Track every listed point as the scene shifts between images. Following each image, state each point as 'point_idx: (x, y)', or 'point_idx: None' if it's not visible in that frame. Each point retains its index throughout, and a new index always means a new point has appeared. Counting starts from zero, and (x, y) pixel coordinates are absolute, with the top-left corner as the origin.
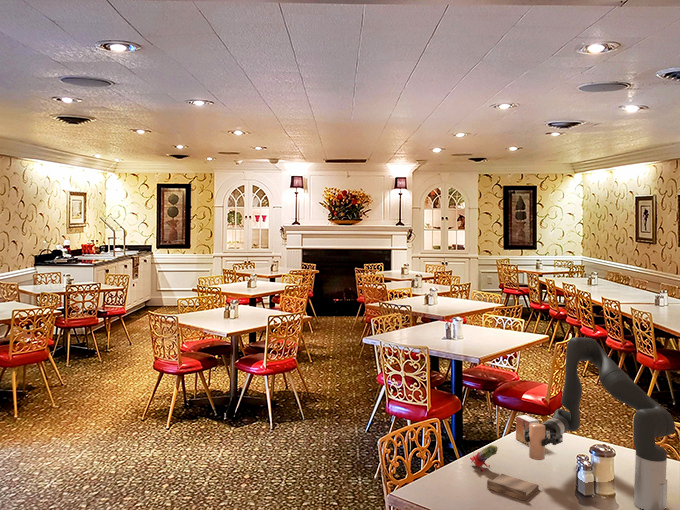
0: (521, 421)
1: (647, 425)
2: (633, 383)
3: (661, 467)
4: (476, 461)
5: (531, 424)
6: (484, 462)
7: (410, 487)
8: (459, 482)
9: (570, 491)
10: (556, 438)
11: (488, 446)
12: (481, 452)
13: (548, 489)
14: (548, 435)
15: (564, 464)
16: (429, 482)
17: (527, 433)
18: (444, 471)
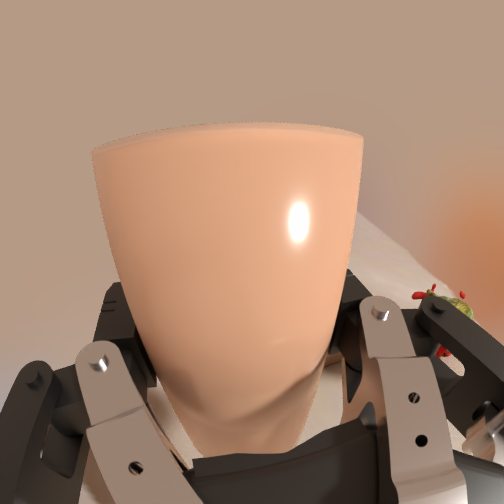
0: None
1: None
2: None
3: None
4: (416, 296)
5: (308, 126)
6: (439, 347)
7: (358, 217)
8: (353, 266)
9: (89, 458)
10: (11, 399)
11: (461, 301)
12: (443, 296)
13: (159, 420)
14: (112, 416)
15: None
16: (370, 236)
17: (413, 321)
18: (417, 272)
